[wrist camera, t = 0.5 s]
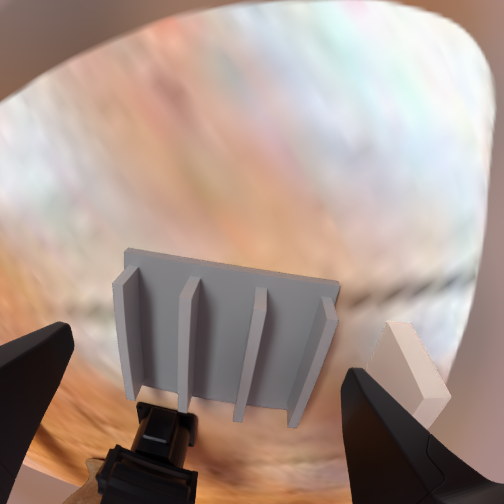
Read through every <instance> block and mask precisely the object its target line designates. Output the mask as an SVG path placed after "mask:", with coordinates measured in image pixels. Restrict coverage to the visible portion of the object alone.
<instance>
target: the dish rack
mask: <svg viewBox="0 0 504 504" xmlns="http://www.w3.org/2000/svg"><path fill="white" fill-rule="evenodd" d="M112 287H113V300H114V311H115V321H116V331H117V339H118V347H119V354H120V361H121V368H122V374H123V380H124V386H125V392H126V397H127V399H129V400H133V401H135V400H136V398H137V395H138V393H139V391H140V388H141V386H142V385H144V386H149V387H153V388H157V389H161V390H165V391H170V392H174V393H178V412H183V413H187V412H188V408H189V404H190V401H191V397H192V396H194V397H199V398H205V399H210V400H216V401H222V402H229V403H235V409H234V416H233V421H234V422H241V423H242V421H243V416H244V412H245V408H246V405H250V406H258V407H266V408H275V409H286V410H287V425H288V428H297V426H298V424H299V421H300V419H301V417H302V414H303V412H304V410H305V407H306V405H307V403H308V400H309V398H310V395H311V393H312V391H313V388H314V386H315V383H316V381H317V378H318V375H319V373H320V370H321V368H322V365H323V363H324V360H325V357H326V355H327V352H328V349H329V346H330V344H331V341H332V338H333V335H334V332H335V330H336V327H337V324H338V321H339V320H338V317H337V314H336V310H335V307H334V305H335V301H336V298H337V295H338V292H339V288H340V285H339V282H338V281H333V280H326V279H319V278H313V277H306V276H299V275H293V274H286V273H280V272H273V271H267V270H260V269H254V268H247V267H241V266H235V265H229V264H222V263H216V262H210V261H204V260H198V259H192V258H185V257H179V256H173V255H167V254H161V253H156V252H150V251H144V250H138V249H132V248H127V249H126V250H125V251H124V271H123V272H122V273H121V274H120V275H119V276H118V277H117V279H116V280H115V281H114V282H113V283H112Z"/></svg>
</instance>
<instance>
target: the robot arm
mask: <svg viewBox="0 0 504 504" xmlns="http://www.w3.org/2000/svg"><path fill="white" fill-rule="evenodd" d="M73 351H74V340H73V335H72V331H71V327H70V325H69V324H67V323H64V322H60V321H59V322H56V323H53V324H51V325H49V326H46V327H44V328H41V329H39V330H37V331H34V332H32V333H29V334H27V335H25V336H22V337H20V338H18V339H15V340H13V341H10V342H8V343H6V344H3V345H1V346H0V504H6V503H7V501H8V498H9V495H10V492H11V490H12V487H13V485H14V482H15V479H16V477H17V474H18V472H19V469H20V467H21V465H22V462H23V460H24V458H25V455H26V453H27V451H28V448H29V446H30V444H31V442H32V440H33V437H34V435H35V433H36V431H37V429H38V427H39V425H40V423H41V420H42V418H43V416H44V414H45V412H46V410H47V408H48V406H49V404H50V402H51V400H52V398H53V396H54V394H55V393H56V391H57V389H58V387H59V384H60V382H61V380H62V377H63V375H64V372H65V370H66V367H67V365H68V363H69V360H70V358H71V355H72V353H73ZM136 408H137V413H138V419H139V424H140V426H139V428H138V431H137V434H136V436H135V439H134V442H133V444H132V447H131V450H128V449H125V448H123V447H121V446H120V445H118V444H116V446H115V448H114V449H109V452H108V454H107V457H106V459H105V461H104V463H103V464H102V466H101V467H100V469H99V470H98V472H97V473H96V476H95V479H96V481H97V483H98V486H97V487H98V492H97V493H98V494H99V495H101V496H102V498H101V501H100V504H195V498H196V487H197V477H198V472H196V471H190V470H186V469H183V465H184V461H185V456H186V452H187V448H188V446H190V447H193V446H194V444H195V421H196V417H195V415H193V414H190V413H183V412H178V411H176V410H171V409H167V408H162V407H158V406H154V405H150V404H146V403H142V402H138V403H137V406H136ZM341 411H342V433H343V440H344V447H345V453H346V460H347V466H348V473H349V480H350V488H351V495H352V503H353V504H504V484H501V483H495V482H493V481H490V480H488V479H486V478H485V477H483V476H482V475H481V474H479V473H478V472H477V471H475V470H474V469H473V468H471V467H470V466H469V465H467V464H466V463H465V462H463V461H462V460H461V459H460V458H458V457H457V456H456V455H455V454H453V453H452V452H451V451H450V450H448V449H447V448H446V447H445V446H444V445H443V444H442V443H441V442H440V441H438V440H437V439H436V438H435V437H434V436H433V435H432V434H430V432H429V431H428V430H427V429H426V428H425V427H424V426H423V425H421V424H420V423H419V422H418V421H417V420H416V419H415V418H414V417H413V416H412V415H411V414H410V413H409V412H408V411H407V410H406V409H405V408H404V407H403V406H402V405H401V404H399V403H398V402H397V401H396V400H395V399H394V398H393V397H392V396H391V395H390V394H389V393H388V392H387V391H386V390H385V389H384V388H383V387H382V386H381V385H380V384H379V383H378V382H376V381H375V380H374V379H373V378H372V377H371V376H370V375H369V374H368V373H367V372H366V371H365V370H364V369H363V368H353V367H352V368H349V370H348V371H347V374H346V376H345V379H344V381H343V384H342V386H341Z"/></svg>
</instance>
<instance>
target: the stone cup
mask: <svg viewBox="0 0 504 504" xmlns="http://www.w3.org/2000/svg"><path fill="white" fill-rule="evenodd" d="M85 463H86V465H87V468H88V471H89V474H90V476H89V479H88V481H87V482H86V483H85V484H84V485H83V486H82V487H81V488H80V489H78V490H77V491H76V492H75V493H73V494H72V495H71V496H70V497H69V498H67V499H66V500H65V501H64V502H63V504H100V501H101V498H102V496H101V495H99V494H98V493H97V492H98V487H97V486H98V483H97V481H96V479H95V476H96V473H97V472H98V470H99V469H100V467H101V466H102V464H103V463H104V460H99V459H87V460H86V462H85Z"/></svg>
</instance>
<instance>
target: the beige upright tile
mask: <svg viewBox="0 0 504 504" xmlns="http://www.w3.org/2000/svg"><path fill="white" fill-rule="evenodd" d="M365 371H366V372H367V373H368V374H369V375H370V376H371V377H372V378H373V379H374V380H375V381H376V382H378V383H379V384H380V385H381V386H382V387H383V388H384V389H385V390H386V391H387V392H388V393H389V394H390V395H391V396H392V397H393V398H394V399H395V400H396V401H397V402H398V403H399V404H401V405H402V406H403V407H404V408H405V409H406V410H407V411H408V412H409V413H410V414H411V415H412V416H413V417H414V418H415V419H416V420H417V421H418V422H419V423H420V424H421V425H423V426H424V427H425V428H426V429H428V428H429V426H430V425H431V424H432V423H433V421H434V420H435V419H436V417H437V416H438V415H439V414H440V412H441V411H442V409H443V408H444V407H445V405H446V404H447V402H448V401H449V400H450V398H451V395H450V393H449V391H448V389H447V388H446V385H445V384H444V382H443V380H442V378H441V376H440V374H439V372H438V370H437V369H436V367H435V365H434V363H433V361H432V360H431V358H430V356H429V354H428V352H427V351H426V349H425V347H424V345H423V344H422V342H421V340H420V339H419V337H418V335H417V333H416V332H415V330H414V328H413V327H412V325H411V323H404V322H393V321H387V322H386V324H385V327H384V329H383V331H382V334H381V336H380V338H379V341H378V343H377V345H376V347H375V350H374V352H373V354H372V356H371V358H370V361H369V363H368V365H367V367H366V369H365Z"/></svg>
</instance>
